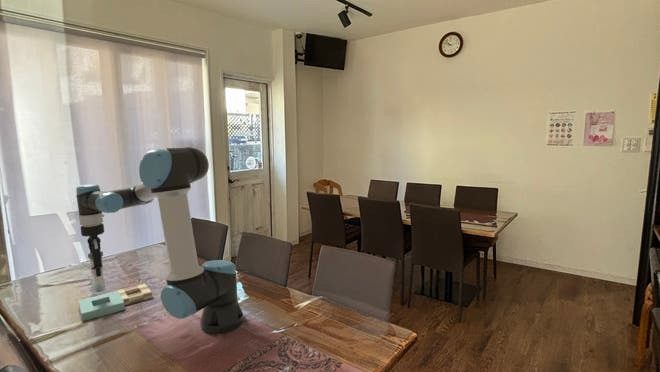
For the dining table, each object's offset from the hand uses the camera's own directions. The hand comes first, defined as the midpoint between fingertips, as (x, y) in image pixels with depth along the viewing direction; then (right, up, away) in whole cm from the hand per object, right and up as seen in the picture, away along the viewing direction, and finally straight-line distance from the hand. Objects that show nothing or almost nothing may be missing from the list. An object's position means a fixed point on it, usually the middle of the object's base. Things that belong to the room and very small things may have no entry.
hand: (98, 281), depth 143 cm
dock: (0, -11, +2) cm, 11 cm away
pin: (0, -4, +1) cm, 4 cm away
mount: (+8, -10, +11) cm, 17 cm away
